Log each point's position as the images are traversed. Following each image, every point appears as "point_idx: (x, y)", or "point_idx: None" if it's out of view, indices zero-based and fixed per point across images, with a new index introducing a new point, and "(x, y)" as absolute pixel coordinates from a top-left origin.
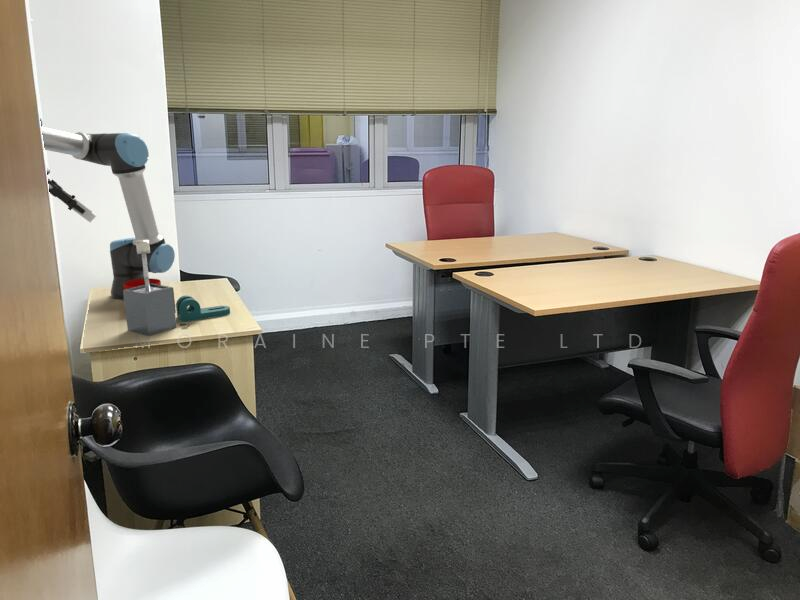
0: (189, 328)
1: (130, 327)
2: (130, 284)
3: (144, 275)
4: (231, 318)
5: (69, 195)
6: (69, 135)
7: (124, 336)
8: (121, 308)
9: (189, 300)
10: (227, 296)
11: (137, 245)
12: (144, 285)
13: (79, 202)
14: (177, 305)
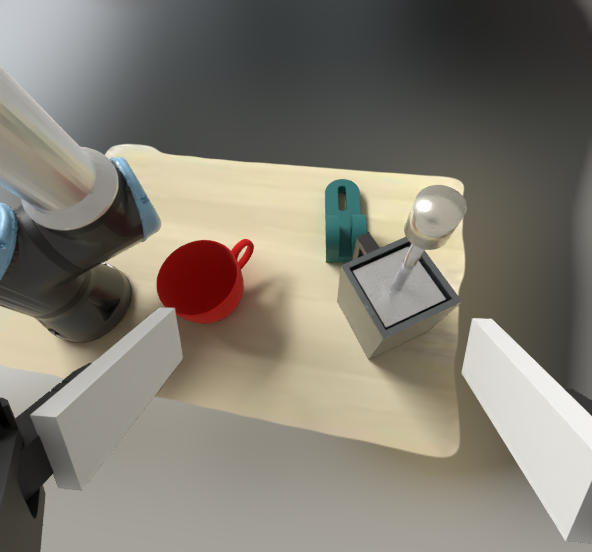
0: None
1: (378, 353)
2: (165, 299)
3: (411, 271)
4: (383, 192)
5: (5, 498)
6: None
7: (409, 373)
8: (187, 340)
9: (366, 224)
10: (237, 167)
11: (450, 230)
12: (357, 283)
13: (104, 376)
14: (337, 248)
